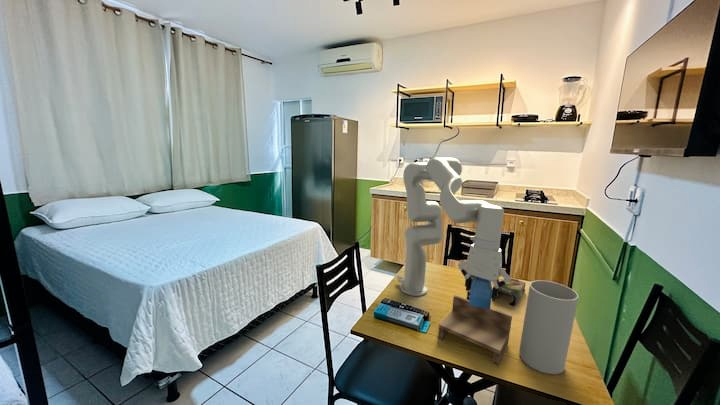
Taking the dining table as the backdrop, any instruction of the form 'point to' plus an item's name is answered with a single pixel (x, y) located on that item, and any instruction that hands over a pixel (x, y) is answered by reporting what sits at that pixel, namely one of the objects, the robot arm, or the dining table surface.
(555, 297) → the cylinder vase
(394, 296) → the dining table surface
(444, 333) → the brown wooden bench
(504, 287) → the juice carton
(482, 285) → the perfume bottle
